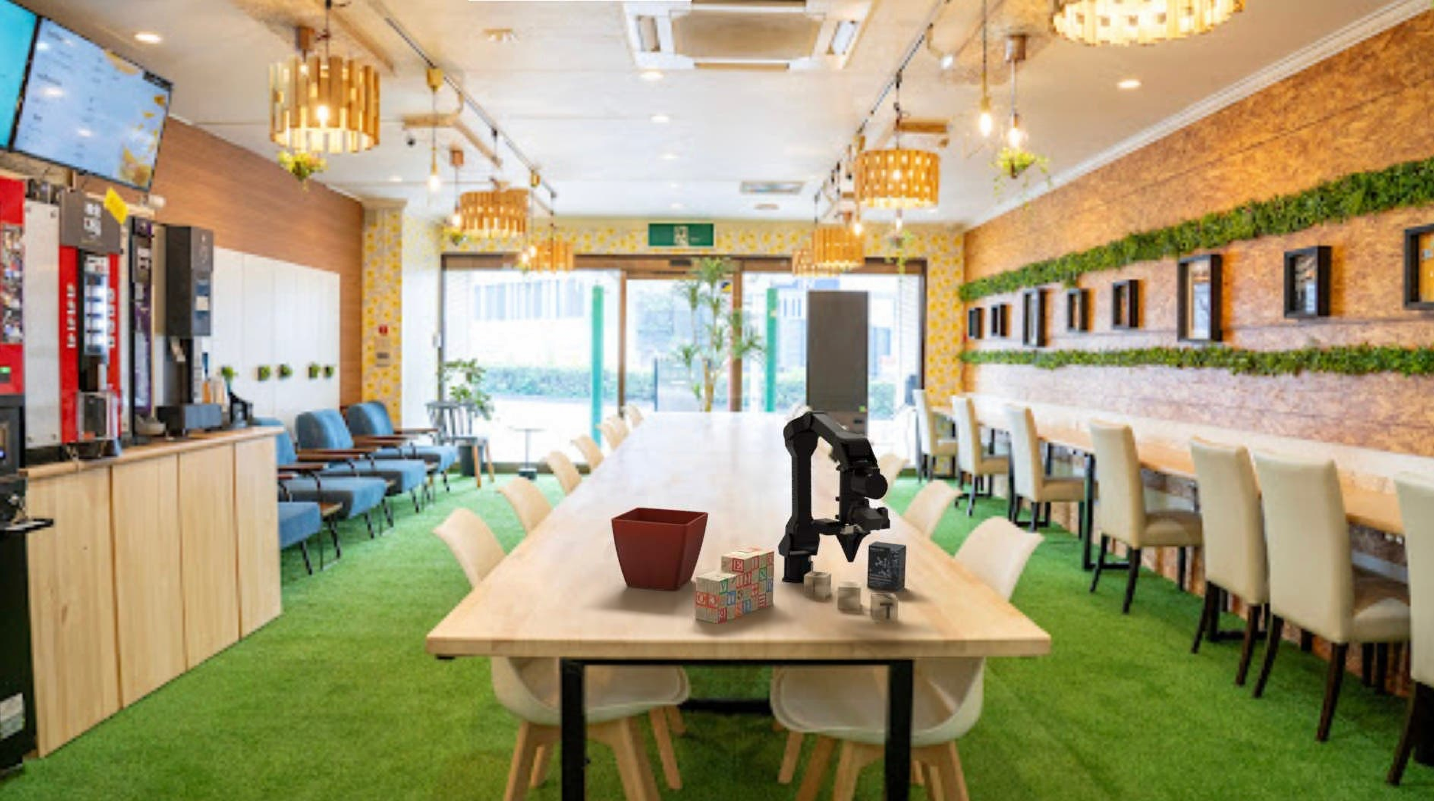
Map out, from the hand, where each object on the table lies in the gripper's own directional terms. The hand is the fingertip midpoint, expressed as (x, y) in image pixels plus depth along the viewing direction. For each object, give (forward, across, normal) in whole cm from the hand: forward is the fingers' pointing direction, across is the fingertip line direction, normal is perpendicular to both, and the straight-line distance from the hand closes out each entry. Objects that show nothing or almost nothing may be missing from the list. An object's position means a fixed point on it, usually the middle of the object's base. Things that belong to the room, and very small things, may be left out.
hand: (850, 562), depth 214 cm
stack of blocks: (+10, -24, +10) cm, 28 cm away
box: (+10, +19, +9) cm, 23 cm away
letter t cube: (+10, 0, -11) cm, 15 cm away
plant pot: (+10, -27, +38) cm, 48 cm away
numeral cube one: (+10, 0, +12) cm, 15 cm away
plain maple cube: (+10, 0, 0) cm, 10 cm away
